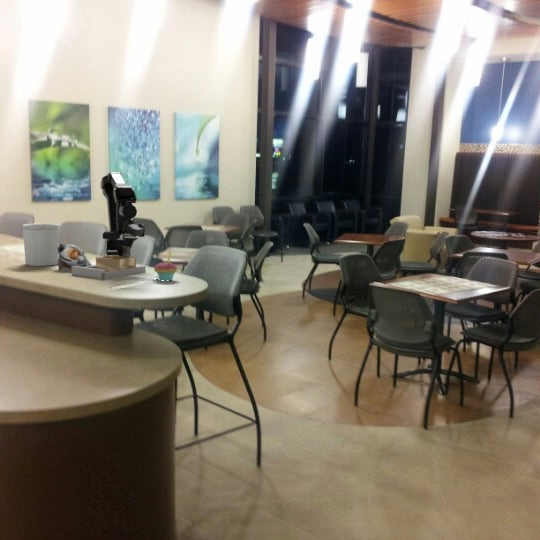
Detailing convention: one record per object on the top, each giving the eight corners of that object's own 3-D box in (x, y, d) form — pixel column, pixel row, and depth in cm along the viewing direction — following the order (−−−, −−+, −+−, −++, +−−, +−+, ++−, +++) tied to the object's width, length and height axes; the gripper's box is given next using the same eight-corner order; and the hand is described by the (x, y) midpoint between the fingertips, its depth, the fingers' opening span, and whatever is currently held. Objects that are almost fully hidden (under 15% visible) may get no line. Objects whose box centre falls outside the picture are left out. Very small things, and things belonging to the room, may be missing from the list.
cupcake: (180, 279, 231) (180, 249, 229) (170, 283, 223) (170, 251, 221) (161, 277, 234) (161, 247, 232) (150, 281, 226) (150, 250, 224)
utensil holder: (16, 264, 255) (14, 224, 252) (41, 260, 269) (40, 222, 266) (42, 267, 250) (41, 226, 247) (66, 263, 263) (66, 224, 261)
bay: (114, 270, 248) (114, 259, 247) (145, 274, 240) (145, 263, 239) (71, 277, 228) (71, 266, 227) (104, 282, 220) (103, 270, 219)
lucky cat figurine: (98, 269, 249) (96, 242, 241) (78, 283, 241) (75, 256, 232) (71, 256, 254) (68, 229, 246) (50, 270, 245) (46, 243, 237)
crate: (115, 268, 244) (114, 245, 243) (137, 271, 239) (136, 247, 237) (96, 272, 235) (95, 247, 234) (118, 275, 229) (118, 249, 228)
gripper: (122, 219, 225) (122, 259, 228) (154, 217, 241) (154, 255, 244) (101, 217, 231) (101, 257, 233) (134, 215, 247) (134, 252, 249)
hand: (124, 255), depth 240 cm, fingers open, 4 cm apart
